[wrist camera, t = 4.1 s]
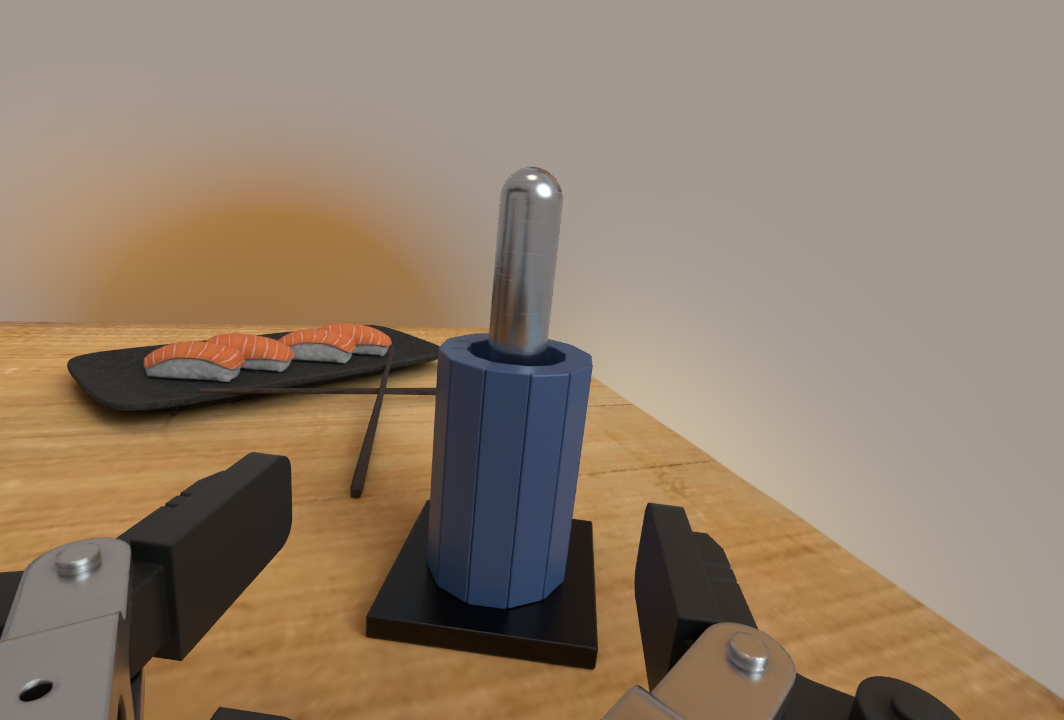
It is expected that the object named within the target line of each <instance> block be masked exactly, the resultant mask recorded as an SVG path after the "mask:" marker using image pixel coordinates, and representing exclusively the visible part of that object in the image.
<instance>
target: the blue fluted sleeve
mask: <svg viewBox="0 0 1064 720" xmlns="http://www.w3.org/2000/svg"><path fill="white" fill-rule="evenodd" d="M488 342H489V333H480V334H469V335H464V336H459V337H454V338H449V339H447V340H446V341H445V342H444V343H443V344H442V345H441V346H440V347H439V350H438V368H437V386H436V404H435V422H434V440H433V458H432V476H431V494H430V513H429V531H428V549H427V564H428V566H429V568H430V571H431V573H432V575H433V577H434V580H435V582H436V584H437V585H438V586H439V587H440V588H442V589H444V590H445V591H447V592H449V593H450V594H452V595H454V596H455V597H457V598H458V599H460V600H462V601H463V602H467V603H468V604H471V605H478V606H486V607H493V608H500V609H506V607H507V608H513V607H517V606H521V605H525V604H529V603H533V602H537V601H541V600H542V599H545V598H546V597H547V596H548V595H549V594H550V593H551V592H552V591H553V590H554V589H555V588H556V587H558V586H559V585H560V584H561V583H562V582H563V580H564V576H565V569H566V561H567V554H568V546H569V539H570V531H571V524H572V516H573V509H574V501H575V494H576V486H577V479H578V471H579V464H580V456H581V449H582V441H583V434H584V426H585V419H586V411H587V404H588V396H589V389H590V381H591V374H592V356H591V355H590V354H588V353H586V352H584V351H582V350H580V349H578V348H577V347H575V346H573V345H570V344H565V343H562V342H558V341H554V340H550V339H548V342H547V351H546V360H545V366H530V367H528V366H519V365H511V364H502V363H495V362H491V361H488V360H487V355H488Z"/></svg>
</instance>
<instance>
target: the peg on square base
mask: <svg viewBox="0 0 1064 720" xmlns="http://www.w3.org/2000/svg"><path fill="white" fill-rule="evenodd" d="M562 204H563V196H562V191H561V187H560V185H559V183H558V182H557V180H556V179H555V178H554V177H553V176H552V175H551V174H550V173H549V172H547V171H545V170H543V169H540V168H536V167H526V168H522V169H520V170H517V171H516V172H514V173H513V174H511V176H509V177H508V179H507V180H506V181H505V183H504V185H503V187H502V190H501V195H500V205H499V217H498V231H497V243H496V255H495V256H496V257H495V267H494V280H493V293H492V305H491V317H490V330H489V342H488V355H487V360H488V361H491V362H495V363H502V364H511V365H519V366H528V367H530V366H545V360H546V351H547V342H548V332H549V323H550V314H551V305H552V296H553V286H554V278H555V269H556V259H557V249H558V241H559V232H560V223H561V214H562ZM429 513H430V500H427V501H426V503H425V505H424V507H423V509H422V511H421V513H420V515H419V517H418V518H417V520H416V522H415V524H414V526H413V528H412V530H411V532H410V534H409V536H408V538H407V540H406V541H405V543H404V545H403V547H402V549H401V551H400V553H399V555H398V557H397V559H396V561H395V562H394V564H393V566H392V568H391V570H390V572H389V574H388V576H387V578H386V580H385V582H384V584H383V585H382V587H381V589H380V591H379V593H378V595H377V597H376V599H375V601H374V603H373V605H372V606H371V608H370V610H369V612H368V614H367V616H366V636H367V637H373V638H380V639H387V640H394V641H401V642H408V643H415V644H421V645H428V646H435V647H442V648H449V649H456V650H463V651H470V652H477V653H483V654H490V655H497V656H504V657H511V658H518V659H525V660H532V661H539V662H545V663H552V664H559V665H566V666H573V667H580V668H587V669H594V668H595V666H596V659H597V653H598V638H597V616H596V595H595V573H594V551H593V530H592V522H591V521H585V520H578V519H572V524H571V531H570V539H569V546H568V554H567V561H566V569H565V576H564V580H563V582H562V583H561V584H560V585H559V586H558V587H556V588H555V589H554V590H553V591H552V592H551V593H550V594H549V595H548V596H547V597H546V598H545V599H542V600H541V601H537V602H533V603H529V604H525V605H521V606H517V607H513V608H507V607H506V609H500V608H493V607H486V606H478V605H471V604H468V603H467V602H463V601H462V600H460V599H458V598H457V597H455V596H454V595H452V594H450V593H449V592H447V591H445V590H444V589H442V588H440V587H439V586H438V585H437V584H436V582H435V580H434V577H433V575H432V573H431V571H430V568H429V566H428V564H427V549H428V531H429Z"/></svg>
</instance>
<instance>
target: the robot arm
mask: <svg viewBox="0 0 1064 720" xmlns="http://www.w3.org/2000/svg"><path fill="white" fill-rule="evenodd" d="M291 525H292V489H291V464H290V461H289V459H288V458H287V457H286V456H280V455H272V454H264V453H256V452H252V453H249V454H248V455H246V456H245V457H243V458H242V459H241V460H239V461H238V462H237V463H235V464H234V465H232V466H231V467H230V468H228V469H227V470H226V471H221V472H219V473H216V474H214V475H211V476H208V477H206V478H203V479H201V480H198V481H197V482H196V483H194V484H193V485H191V486H190V487H189V488H187V489H186V490H184V491H183V492H181V494H180V496H176V497H174V498H173V499H171V500H170V501H169V502H167V503H166V505H165V507H163V506H161V507H160V508H159V509H157V510H156V511H154V512H153V513H151V514H150V515H149V516H147V517H146V518H144V519H143V520H141V521H140V522H139V523H137V524H136V525H134V526H133V527H131V528H130V529H129V530H127V531H126V532H124V533H123V534H121V535H120V536H119V537H117V538H116V539H115V538H91V539H85V540H80V541H75V542H72V543H68V544H65V545H62V546H60V547H57V548H55V549H53V550H50V551H48V552H46V553H45V554H43V555H41V556H39V557H38V558H36V559H35V560H34V561H33V562H31V563H30V564H29V565H28V566H27V568H26V569H25V571H15V572H2V573H0V720H144V695H145V677H144V668H143V667H144V666H145V665H146V663H147V662H148V661H149V660H150V659H151V658H152V657H157V658H163V659H170V660H177V661H182V660H183V659H184V658H185V657H186V656H187V654H188V653H189V652H190V651H191V650H192V649H193V648H194V647H195V645H196V644H197V643H198V642H199V641H200V640H201V639H202V638H203V636H204V635H205V634H206V633H207V632H208V631H209V630H210V628H211V627H212V626H213V625H214V624H215V623H216V622H217V621H218V619H219V618H220V617H221V616H222V615H223V614H224V613H225V612H226V610H227V609H228V608H229V607H230V606H231V605H232V604H233V603H234V601H235V600H236V599H237V598H238V597H239V596H240V595H241V594H242V592H243V591H244V590H245V589H246V588H247V587H248V586H249V585H250V583H251V582H252V581H253V580H254V579H255V578H256V577H257V576H258V574H259V573H260V572H261V571H262V570H263V569H264V568H265V567H266V565H267V564H268V563H269V562H270V561H271V560H272V559H273V557H274V556H275V555H276V554H277V553H278V552H279V551H280V550H281V548H282V547H283V546H284V544H285V542H286V541H287V538H288V536H289V533H290V529H291ZM635 599H636V605H637V612H638V618H639V625H640V632H641V638H642V645H643V652H644V658H645V665H646V672H647V678H648V685H649V692H650V693H649V692H648V691H646V690H645V689H644V688H642V687H641V686H639V685H636V686H633V687H632V688H630V689H629V690H628V691H627V692H626V693H625V694H624V695H623V696H622V697H621V698H620V699H619V700H618V701H617V703H616V704H615V705H614V706H613V707H612V708H611V709H610V710H609V711H608V712H607V713H606V714H605V715H604V716H603V718H602V719H601V720H960V718H959V717H958V716H957V715H956V714H955V713H954V712H953V711H952V710H950V709H949V708H948V707H947V706H946V705H945V704H943V703H942V702H941V701H939V700H938V699H937V698H935V697H934V696H932V695H931V694H929V693H927V692H926V691H924V690H922V689H920V688H918V687H916V686H914V685H912V684H909V683H907V682H904V681H901V680H898V679H894V678H890V677H882V676H875V677H870V678H867V679H865V680H863V681H862V682H861V683H860V684H859V686H858V688H857V691H856V695H855V697H854V696H851V695H848V694H846V693H843V692H840V691H838V690H835V689H832V688H830V687H827V686H824V685H822V684H819V683H816V682H814V681H812V680H809V679H807V678H805V677H803V676H801V675H800V674H798V673H796V669H795V665H794V663H793V660H792V658H791V657H790V655H789V654H788V652H787V651H786V650H785V649H784V648H783V647H782V646H781V645H780V644H779V643H778V642H777V641H775V640H774V639H773V638H771V637H770V636H768V635H767V634H765V633H763V632H761V631H759V630H758V628H757V626H756V623H755V621H754V619H753V616H752V614H751V612H750V610H749V607H748V605H747V603H746V600H745V598H744V596H743V594H742V591H741V589H740V587H739V584H737V580H736V577H735V575H734V573H733V571H732V569H730V564H729V561H728V559H727V557H726V554H725V552H724V550H723V548H721V547H720V546H719V545H718V544H717V543H716V542H715V541H714V540H713V539H712V538H711V537H710V536H709V535H708V534H707V533H699V532H692V530H691V527H690V524H689V521H688V518H687V516H686V513H685V510H684V508H683V507H679V506H671V505H663V504H655V503H648V504H647V506H646V510H645V514H644V520H643V526H642V532H641V538H640V544H639V550H638V556H637V562H636V569H635ZM210 720H291V719H289V718H287V717H283V716H276V715H270V714H263V713H257V712H250V711H243V710H237V709H230V708H224V707H219V708H218V710H217V711H216V712H215V714H214V715H213V716H212V718H211V719H210Z"/></svg>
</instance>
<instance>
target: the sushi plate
mask: <svg viewBox="0 0 1064 720" xmlns="http://www.w3.org/2000/svg"><path fill="white" fill-rule="evenodd" d="M439 347H440V346H438V345H435V344H433V343H430V342H428V341H425V340H422V339H420V338H417V337H414V336H411V335H408V334H405V333H403V332H400V331H397V330H393V329H390V328H386V327H382V326H375V325H358V324H352V323H335V324H329V325H325V326H323V327H322V328H320V329H306V330H299V331H293V332H283V333H273V334H264V335H250V334H241V333H232V334H223V335H218V336H214V337H212V338H210V339H208V340H205V341H189V342H179V343H173V344H166V345H156V346H147V347H137V348H128V349H119V350H111V351H103V352H96V353H90V354H85V355H80V356H76V357H74V358H72V359H70V360H69V362H68V364H67V367H68V370H69V372H70V374H71V375H72V377H73V378H74V379H75V380H76V382H77V383H78V384H79V385H80V386H81V387H82V388H83V389H84V391H85V392H86V393H87V394H88V395H90V396H91V397H92V398H93V399H94V400H95V401H97V402H98V403H99V404H101V405H103V406H105V407H107V408H111V409H114V410H120V411H140V410H152V409H153V410H179V409H187V408H194V407H200V406H206V405H212V404H217V403H223V402H228V401H234V400H239V399H245V398H250V397H256V396H261V395H267V394H272V393H298V394H378V395H377V399H376V402H375V405H374V409H373V412H372V415H371V419H370V422H369V425H368V429H367V432H366V435H365V439H364V442H363V445H362V449H361V452H360V456H359V459H358V463H357V466H356V469H355V473H354V476H353V480H352V484H351V497H353V496H360V495H361V493H362V489H363V485H364V481H365V476H366V472H367V468H368V463H369V459H370V454H371V450H372V445H373V441H374V436H375V432H376V427H377V422H378V418H379V413H380V409H381V404H382V400H383V395H384V394H400V395H436V388H385V387H386V383H387V378H388V374H389V372H391V371H396V370H399V369H403V368H405V367H406V366H407V365H413V364H418V363H423V362H428V361H433V360H437V359H438V350H439ZM381 373H384V374H383V378H382V381H381V385H380V388H305V387H310V386H316V385H321V384H327V383H332V382H338V381H343V380H348V379H354V378H359V377H365V376H370V375H376V374H381Z"/></svg>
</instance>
